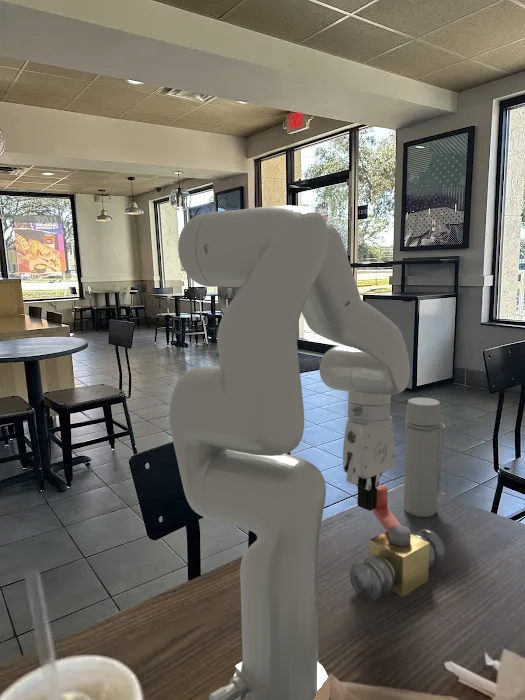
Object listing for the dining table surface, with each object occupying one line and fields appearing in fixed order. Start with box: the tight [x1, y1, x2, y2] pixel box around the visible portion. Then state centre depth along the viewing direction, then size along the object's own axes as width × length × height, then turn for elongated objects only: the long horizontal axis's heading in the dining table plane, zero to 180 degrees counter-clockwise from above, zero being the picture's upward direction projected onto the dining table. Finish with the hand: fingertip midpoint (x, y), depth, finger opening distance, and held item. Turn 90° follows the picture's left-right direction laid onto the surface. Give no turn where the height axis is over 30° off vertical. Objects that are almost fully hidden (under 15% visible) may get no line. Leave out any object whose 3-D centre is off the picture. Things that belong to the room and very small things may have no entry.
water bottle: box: [403, 397, 449, 518], centre depth 110 cm, size 9×8×25 cm
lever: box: [372, 484, 412, 546], centre depth 91 cm, size 13×4×5 cm, turn 7°
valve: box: [349, 528, 446, 603], centre depth 87 cm, size 18×7×7 cm, turn 127°
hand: (366, 507), depth 94 cm, fingers closed
